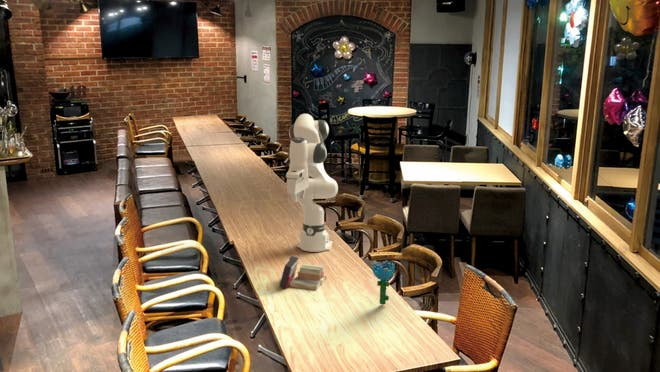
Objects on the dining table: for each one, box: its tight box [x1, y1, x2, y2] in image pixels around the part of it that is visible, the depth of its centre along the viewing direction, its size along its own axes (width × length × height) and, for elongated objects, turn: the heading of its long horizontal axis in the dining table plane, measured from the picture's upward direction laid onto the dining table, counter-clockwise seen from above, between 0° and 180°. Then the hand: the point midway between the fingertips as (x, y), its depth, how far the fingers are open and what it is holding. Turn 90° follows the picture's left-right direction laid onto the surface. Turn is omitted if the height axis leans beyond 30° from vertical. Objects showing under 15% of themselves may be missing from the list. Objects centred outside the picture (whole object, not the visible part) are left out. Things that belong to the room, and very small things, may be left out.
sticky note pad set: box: [289, 263, 328, 291], centre depth 279 cm, size 15×13×7 cm
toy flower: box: [372, 260, 396, 306], centre depth 255 cm, size 9×9×18 cm
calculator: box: [279, 255, 300, 289], centre depth 278 cm, size 11×4×15 cm
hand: (298, 200), depth 286 cm, fingers open, 8 cm apart
